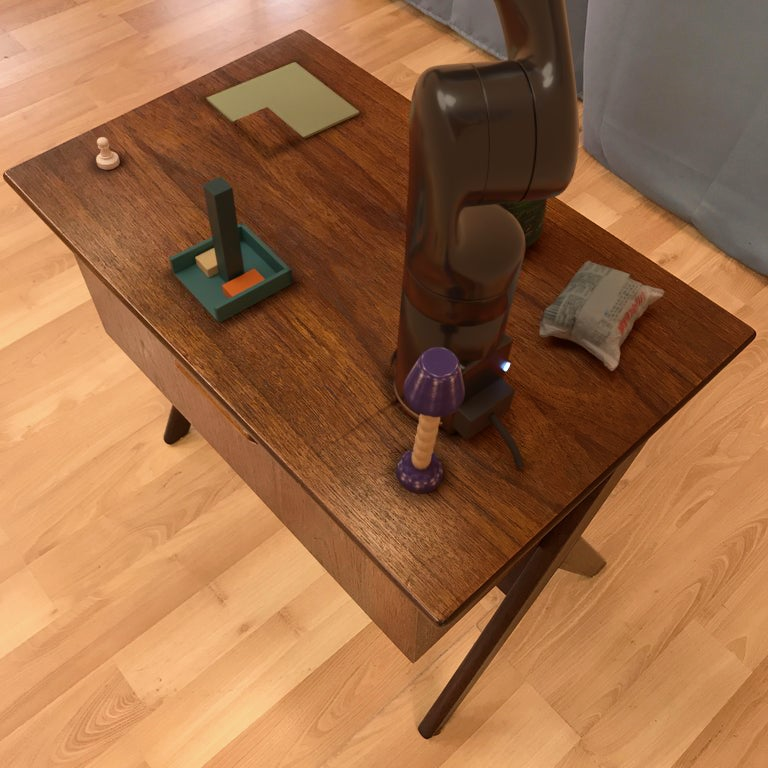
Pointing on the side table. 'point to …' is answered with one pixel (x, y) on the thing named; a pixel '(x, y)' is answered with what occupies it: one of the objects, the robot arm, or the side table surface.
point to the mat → (286, 100)
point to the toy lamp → (429, 415)
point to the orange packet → (241, 283)
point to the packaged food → (598, 310)
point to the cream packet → (207, 262)
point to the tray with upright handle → (229, 258)
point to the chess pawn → (106, 155)
